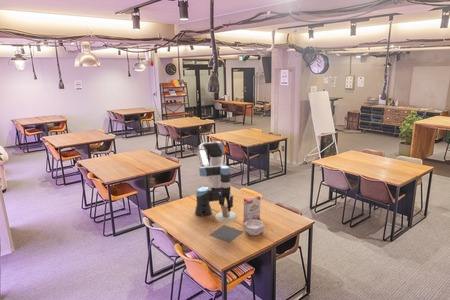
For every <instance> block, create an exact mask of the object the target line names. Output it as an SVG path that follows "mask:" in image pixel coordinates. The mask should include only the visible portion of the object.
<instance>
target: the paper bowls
mask: <svg viewBox="0 0 450 300" xmlns="http://www.w3.org/2000/svg"><path fill="white" fill-rule="evenodd" d="M264 228H265V224H264V222H263V221H261V220H260V219H257V220H256V219H251V220H248V221H244V232H246V233H247V234H248V235H250V236H258V235H260V234H261V233H263V231H264V230H265V229H264Z"/></svg>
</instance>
